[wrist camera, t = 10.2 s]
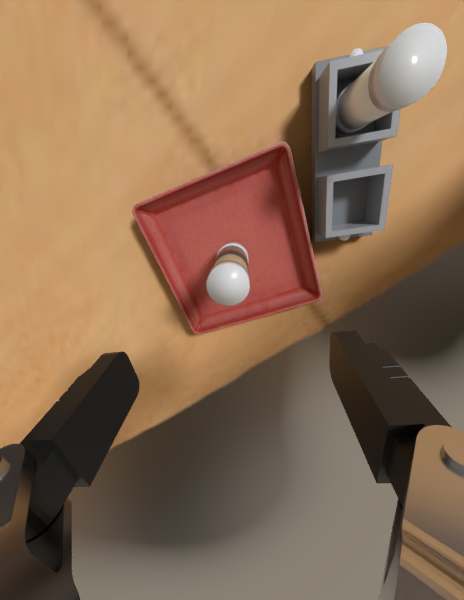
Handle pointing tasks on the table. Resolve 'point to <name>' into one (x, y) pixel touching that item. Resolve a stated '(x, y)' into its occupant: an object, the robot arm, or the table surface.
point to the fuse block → (346, 156)
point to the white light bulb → (393, 78)
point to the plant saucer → (234, 238)
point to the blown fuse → (229, 275)
